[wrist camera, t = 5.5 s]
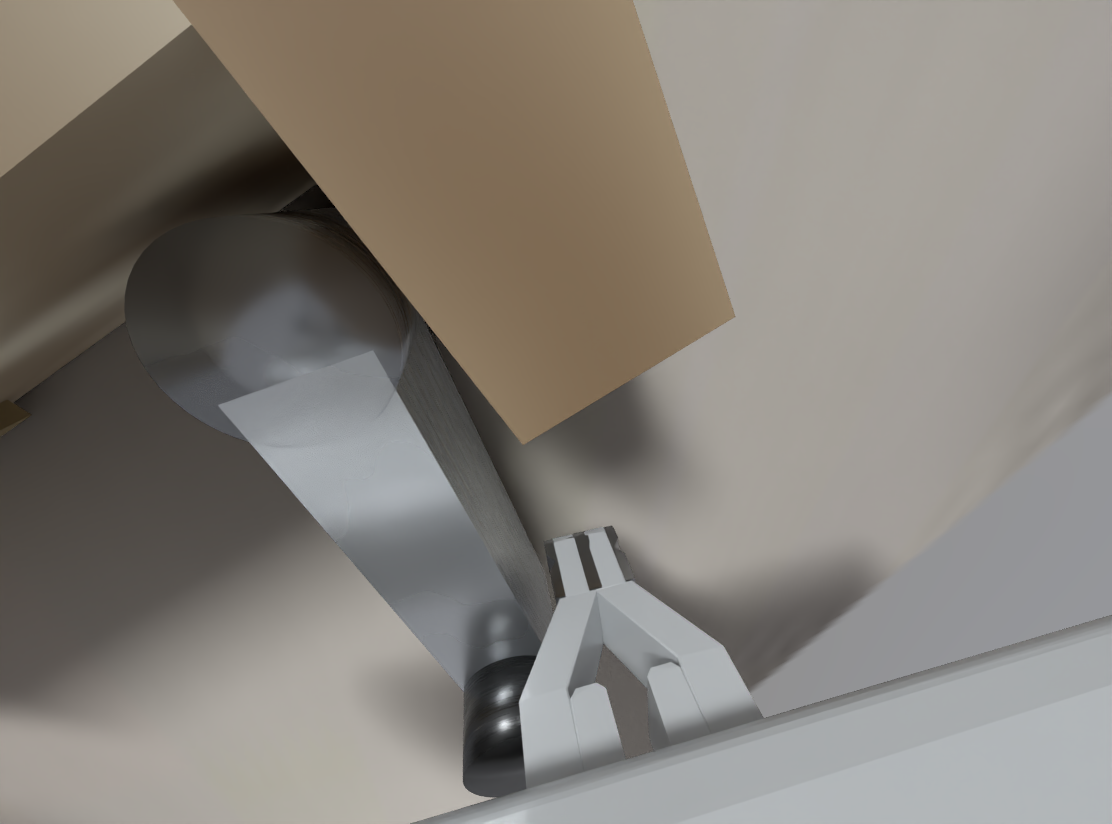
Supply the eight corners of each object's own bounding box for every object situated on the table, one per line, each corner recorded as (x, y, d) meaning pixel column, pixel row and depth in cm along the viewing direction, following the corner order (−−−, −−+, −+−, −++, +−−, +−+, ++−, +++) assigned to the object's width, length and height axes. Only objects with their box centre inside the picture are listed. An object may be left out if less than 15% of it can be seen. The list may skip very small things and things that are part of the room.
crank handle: (232, 238, 7) (-154, 304, 3) (383, 185, 7) (247, 167, 3) (473, 599, 12) (475, 813, 8) (557, 568, 13) (603, 764, 8)
